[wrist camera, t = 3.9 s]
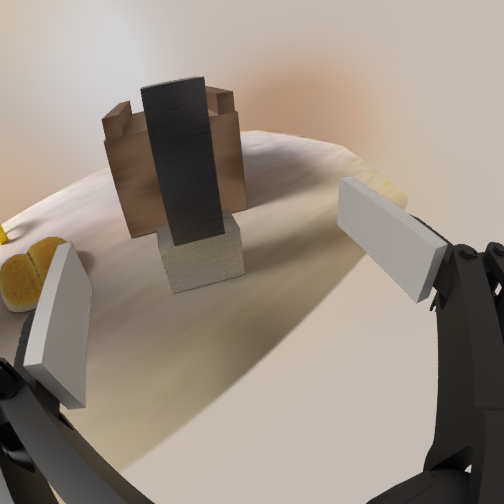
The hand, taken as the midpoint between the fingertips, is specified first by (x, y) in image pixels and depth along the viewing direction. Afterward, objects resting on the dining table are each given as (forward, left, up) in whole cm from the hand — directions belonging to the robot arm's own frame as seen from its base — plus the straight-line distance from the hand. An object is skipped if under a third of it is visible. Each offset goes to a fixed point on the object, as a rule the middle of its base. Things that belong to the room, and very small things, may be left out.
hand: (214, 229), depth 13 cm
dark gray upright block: (0, +7, -7) cm, 10 cm away
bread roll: (-16, +11, -8) cm, 21 cm away
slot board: (0, +23, -7) cm, 24 cm away
